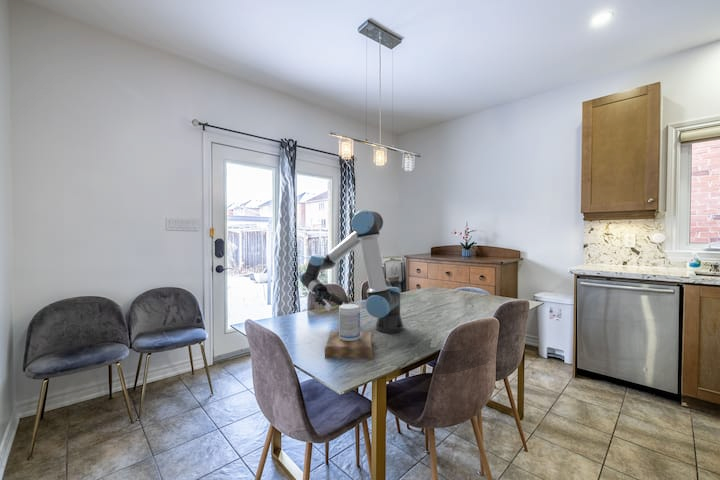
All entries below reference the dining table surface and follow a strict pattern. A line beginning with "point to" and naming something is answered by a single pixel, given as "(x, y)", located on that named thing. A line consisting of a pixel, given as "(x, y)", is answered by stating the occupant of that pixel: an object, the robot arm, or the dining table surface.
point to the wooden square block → (349, 347)
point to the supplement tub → (349, 322)
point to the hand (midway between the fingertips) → (339, 309)
